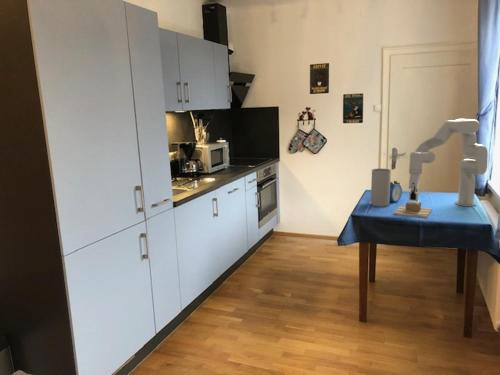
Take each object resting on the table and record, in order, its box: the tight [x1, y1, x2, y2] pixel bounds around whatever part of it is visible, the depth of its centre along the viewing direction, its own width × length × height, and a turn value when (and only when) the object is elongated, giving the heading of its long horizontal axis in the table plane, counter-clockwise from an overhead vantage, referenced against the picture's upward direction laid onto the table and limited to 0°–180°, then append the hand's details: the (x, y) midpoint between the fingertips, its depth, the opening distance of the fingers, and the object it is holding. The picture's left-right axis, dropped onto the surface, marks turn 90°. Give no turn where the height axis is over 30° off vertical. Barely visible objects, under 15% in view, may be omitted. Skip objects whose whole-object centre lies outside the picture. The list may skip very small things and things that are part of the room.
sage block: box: [408, 191, 420, 202], centre depth 265 cm, size 5×5×5 cm
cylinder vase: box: [370, 168, 392, 208], centre depth 286 cm, size 12×12×25 cm
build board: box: [393, 200, 433, 219], centre depth 267 cm, size 20×20×6 cm
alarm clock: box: [389, 180, 403, 203], centre depth 295 cm, size 13×6×15 cm, turn 128°
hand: (413, 198), depth 266 cm, fingers closed on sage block, 4 cm apart
